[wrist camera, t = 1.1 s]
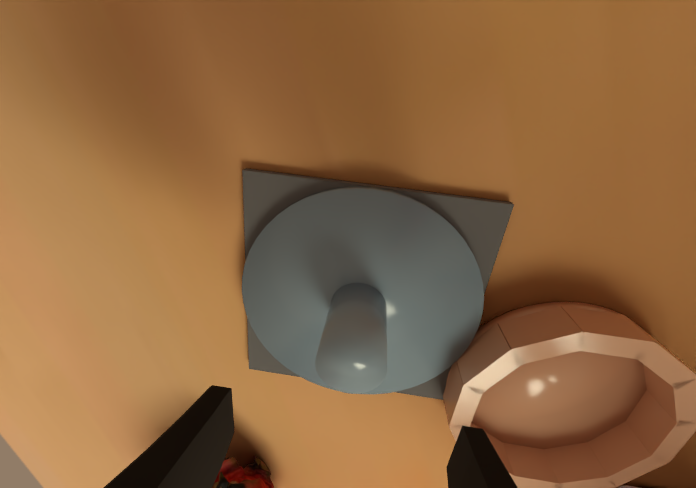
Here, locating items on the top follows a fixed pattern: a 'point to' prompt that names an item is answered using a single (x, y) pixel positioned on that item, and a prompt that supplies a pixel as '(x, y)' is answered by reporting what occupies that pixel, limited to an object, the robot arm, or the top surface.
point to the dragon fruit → (243, 475)
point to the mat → (461, 211)
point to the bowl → (572, 396)
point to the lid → (363, 290)
